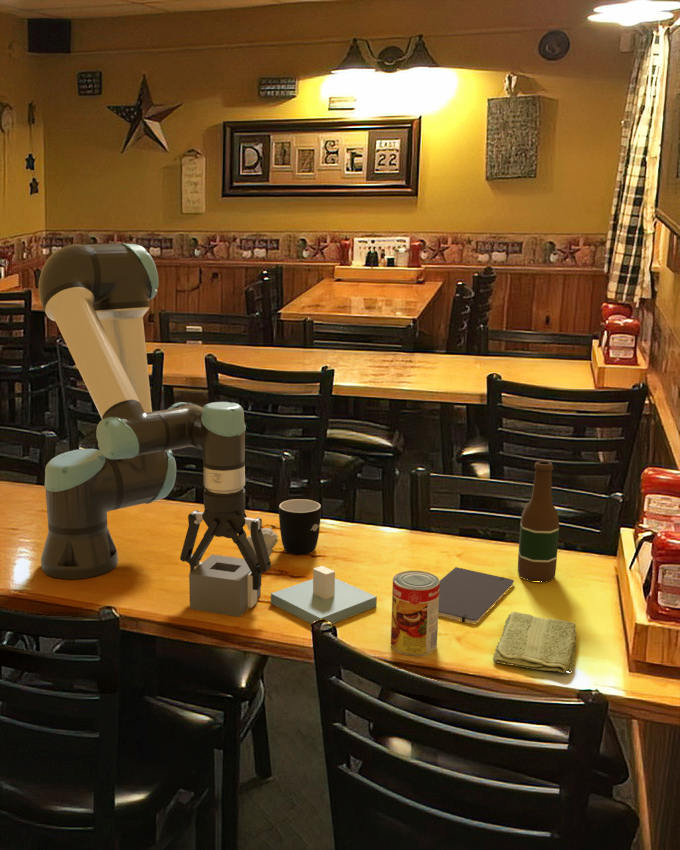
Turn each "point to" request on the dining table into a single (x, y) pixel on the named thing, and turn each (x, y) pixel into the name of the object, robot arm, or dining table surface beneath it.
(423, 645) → the canned food
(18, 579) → the dining table surface
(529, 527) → the beer bottle
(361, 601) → the base
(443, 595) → the notebook
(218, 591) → the slotted gray box
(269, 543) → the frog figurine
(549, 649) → the washcloth
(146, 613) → the dining table surface
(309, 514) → the mug
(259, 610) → the dining table surface
